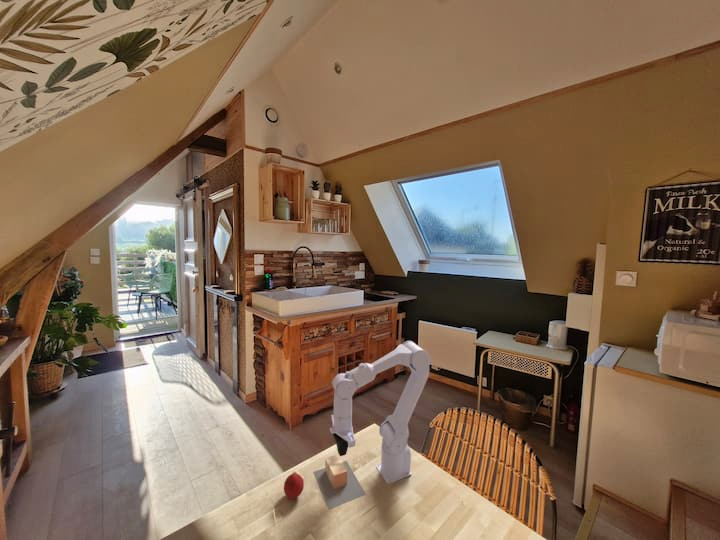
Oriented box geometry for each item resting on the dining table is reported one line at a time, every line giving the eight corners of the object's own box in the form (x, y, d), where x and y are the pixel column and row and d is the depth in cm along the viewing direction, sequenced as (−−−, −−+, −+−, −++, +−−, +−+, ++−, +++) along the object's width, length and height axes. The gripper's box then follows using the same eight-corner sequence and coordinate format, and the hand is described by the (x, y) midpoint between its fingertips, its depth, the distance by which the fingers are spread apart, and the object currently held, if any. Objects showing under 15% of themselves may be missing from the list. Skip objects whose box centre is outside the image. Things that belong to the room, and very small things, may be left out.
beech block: (347, 484, 92) (337, 466, 99) (347, 470, 91) (337, 454, 98) (333, 489, 90) (325, 470, 97) (334, 475, 89) (325, 458, 96)
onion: (298, 507, 83) (298, 482, 83) (280, 503, 85) (280, 478, 84) (306, 491, 89) (306, 466, 88) (289, 487, 90) (289, 463, 90)
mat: (346, 461, 101) (346, 460, 101) (366, 495, 88) (366, 494, 88) (313, 472, 96) (313, 471, 96) (328, 510, 83) (328, 509, 83)
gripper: (322, 404, 95) (322, 443, 96) (340, 430, 82) (339, 474, 83) (342, 399, 98) (342, 437, 99) (362, 423, 85) (361, 466, 86)
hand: (342, 454), depth 91 cm, fingers closed
